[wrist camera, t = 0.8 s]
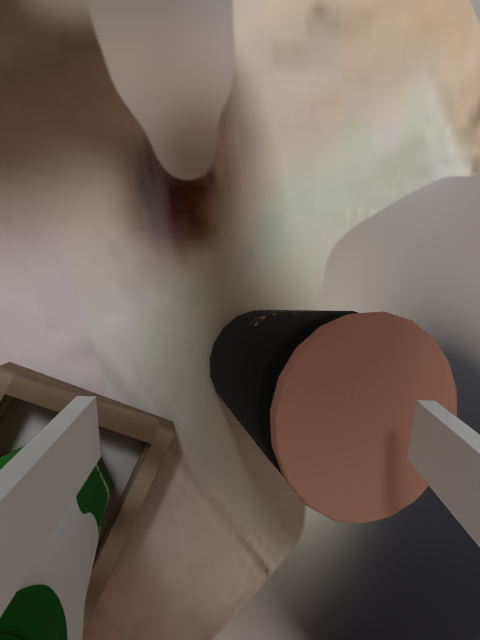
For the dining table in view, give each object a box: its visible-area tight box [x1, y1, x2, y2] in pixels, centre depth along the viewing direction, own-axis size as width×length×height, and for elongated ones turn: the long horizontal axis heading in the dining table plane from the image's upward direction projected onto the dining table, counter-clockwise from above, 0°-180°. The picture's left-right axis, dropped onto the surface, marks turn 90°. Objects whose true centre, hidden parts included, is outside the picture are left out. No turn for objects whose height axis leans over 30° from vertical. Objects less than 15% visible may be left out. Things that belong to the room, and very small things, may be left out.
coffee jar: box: [210, 310, 457, 524], centre depth 24 cm, size 11×11×18 cm
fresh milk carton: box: [0, 445, 114, 640], centre depth 19 cm, size 9×9×20 cm
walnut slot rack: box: [0, 362, 175, 634], centre depth 26 cm, size 28×15×3 cm, turn 155°
